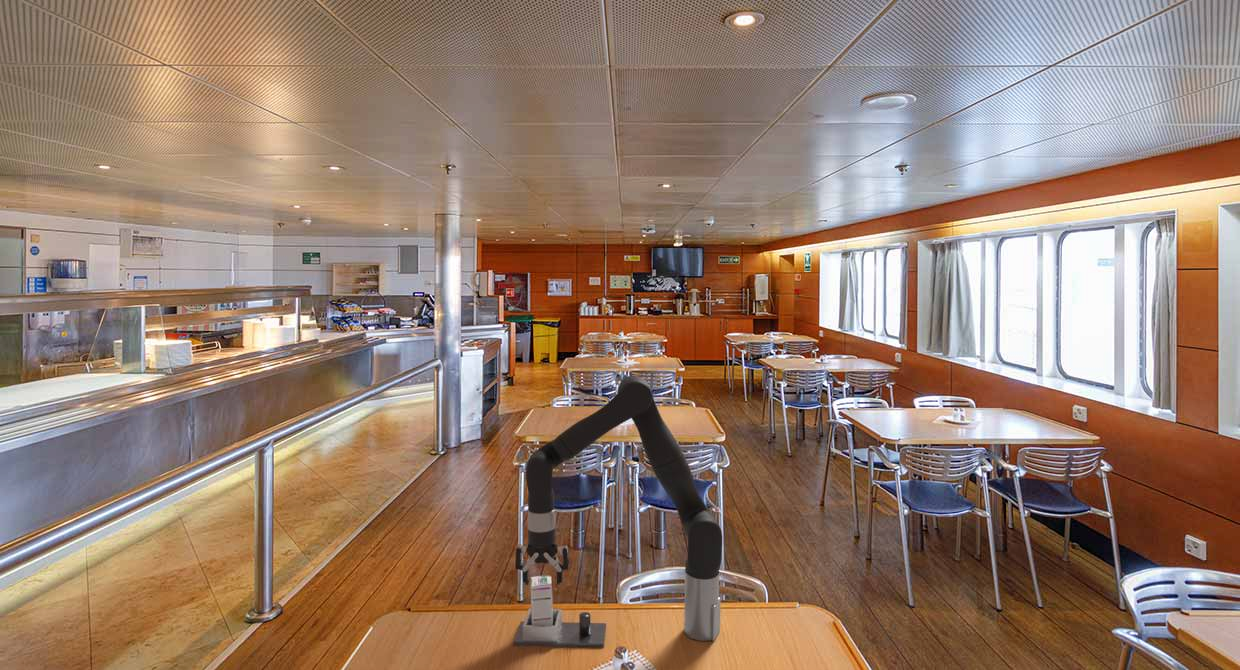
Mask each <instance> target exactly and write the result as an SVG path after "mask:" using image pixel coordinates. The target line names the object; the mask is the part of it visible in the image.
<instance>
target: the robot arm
mask: <svg viewBox="0 0 1240 670" xmlns="http://www.w3.org/2000/svg"><path fill="white" fill-rule="evenodd" d="M629 420H632V422H633V423H634V425H635V428H636V429H637V431H638V434H639V437H640V440H641V443H642V447H643V449H644V452H645V454H646V457H647V460H648V462H649V464H650V466H651V469H652V471H653V473H654V474H655V477H656V478H657V480H658V482H659V483H660V485H661V487H662V488H663V490H664V491H665V493H666V494H667V495H668V496H669V498H670V499H671V501H672V503H673V504H674V506H675V509H676V512H677V514H678V515H679V519H680V522H681V524H682V527H683V531H684V533H685V536H686V539H687V559H686V560H685V563H684V565H685V566H684V618H683V619H684V623H683V625H684V627H683V628H684V631H683V632H684V634H685V633H686V634H685V635H686V636H687V637H688V638H690V639H692V640H694V639H695V641H700V642H706V641H707V642H708V641H711V640H712V641H711V642H715V641H716V638H717V637H718V635H719V633H720V631H721V612H722V611H721V608H722V607H721V601H722V600H721V599H722V598H721V597H720V595H719V594H720V592H719V589H720V568H721V565H722V555H723V533H722V528H721V527H720V525H719V522H718V521H717V520H716V519H715V517H714V515H713V514H712V513H711V511H710V510H709V508H708V507H707V506H706V504H705V502H704V501H703V499H702V497H701V496H700V494H699V492H698V490H697V487H696V484H695V480H694V477H693V474H692V470H691V468H690V465H689V463H688V461H687V458H686V457H685V454H684V452H683V450H682V449H681V447H680V445H679V444H678V442H677V440H676V438H675V437H674V435H673V433H672V432H671V430H670V429H669V427H668V425H667V423H665V421H664V420H663V417H662V415H661V413H660V411H659V409H658V406H657V405H656V401H655V398H654V394H653V390H652V388H651V385H650V383H649V382H648V381H647V380H646V379H644V378H643V377H641V376H638V375H628V376H626V377H624V378H623V379H622V380H621V381H620V383H619V384H618V387H617V391H616V394H615V395H614V396H613V397H612V399H611V400H609V401H608V402H606V404H604V405H603V406H602V407H601V408H600V409H598V410H596V411H595V412H593V413H592V414H590V415H588V416H586V417H584V418H583V419H581V420H579V421H577V422H576V423H575V422H574V424H572V425H571V426H569V427H567V429H565V430H564V431H563V432H561V433H560V434H558V436H556V437H555V438H554V439H552V440H551V441H549V442H547V443H545V444H544V445H542V446H540V447H539V448H538V449H537V450H535V451H534V452H533V453H532V454H531V455H530V456H529V459H528V461H527V462H526V465H525V480H526V487H527V493H528V495H527V522H526V524H527V525H526V527H527V545H526V546H524V545H522V544H518V545H517V547H516V549H515V570H517V571H518V570H520V571H522V582H523V583H525V584H524V585H526V586H529V584H530V567H531V566H532V565H533V564H534V563H535V564H548V563H549V564H550V565H551V566H552V567H554V569H555V570H556V586H560V585H561V583H562V582H563V579H564V577H563V575H564V572H563V571H565V570H566V571H568V570H569V567H570V555H569V545H568V544H564V545H563V546H558V545H557V527H556V526H557V525H556V523H557V522H556V521H557V519H556V517H557V516H556V512H555V493H554V489H553V471H554V469H555V468H557V467H558V466H559V465H561V464H563V462H565V461H570V460H571V459H574V458H575V457H576V456H578V455H579V454H580V453H582V452H583V451H584V450H586V449H587V448H588V447H590V446H591V445H592V444H594V442H596V441H597V440H598V439H600V438H602V437H604V435H605V434H607V433H609V432H610V431H611V430H614V429H615V428H616V427H618V426H619V425H621V424H623V423H625V422H627V421H629ZM525 552H526V554H528V556H529V557H528V558H527V560H525V561H526V562H525V563H523V562H522V560H523V555H524V554H525ZM558 552H559V554H560V556H562V560H563V562H561V561H560V559H559V558H558V556H557V553H558Z"/></svg>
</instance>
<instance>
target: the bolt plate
mask: <svg viewBox="0 0 1240 670" xmlns="http://www.w3.org/2000/svg"><path fill="white" fill-rule="evenodd" d="M562 612H563V610H562V609H561V608H560V609H559V608H553V626H546V625H532V620H531V608H528V610H527V613H526V616H525V619H524V621H523V620H522V621H520V622H519V625H518V628H517V631H516V634H515V638H514V639H513V646H521V647H522V646H523V647H524V646H525V647H526V646H529V647H571V648H573V647H574V648H576V647H577V648H605V641H606V631H607V630H606V629H607V623H606V622H591V613H590V612H586V611H584V612H581V613H579V615H578V616H579V621H578V622H574V621H573V622H566V621H565V622H564V621H563V619H562V618H563V616H562ZM562 621H563V622H562Z"/></svg>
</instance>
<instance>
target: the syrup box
mask: <svg viewBox="0 0 1240 670" xmlns="http://www.w3.org/2000/svg"><path fill="white" fill-rule="evenodd" d="M553 602H554V601H553V586H552V576H551V575H537V576H530V609H531V620H532V625H546V626H553V609H554V608H553Z"/></svg>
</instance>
